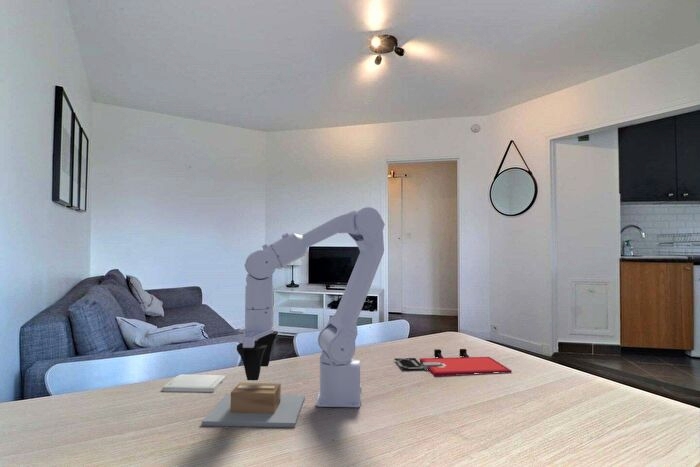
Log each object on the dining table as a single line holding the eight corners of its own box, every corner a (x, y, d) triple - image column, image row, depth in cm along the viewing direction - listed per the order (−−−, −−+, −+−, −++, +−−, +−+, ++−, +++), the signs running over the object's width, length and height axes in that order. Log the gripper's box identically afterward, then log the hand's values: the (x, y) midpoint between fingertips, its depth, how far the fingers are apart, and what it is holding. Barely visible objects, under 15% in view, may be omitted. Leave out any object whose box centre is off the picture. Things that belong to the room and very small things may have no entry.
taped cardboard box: (239, 401, 74) (239, 381, 74) (280, 402, 73) (280, 382, 73) (230, 412, 69) (230, 391, 69) (274, 413, 68) (274, 392, 68)
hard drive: (162, 386, 80) (214, 387, 80) (180, 373, 89) (227, 374, 88) (162, 393, 80) (213, 394, 80) (180, 380, 89) (227, 380, 88)
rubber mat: (304, 399, 77) (304, 395, 77) (295, 427, 65) (295, 422, 65) (225, 397, 77) (225, 394, 77) (201, 425, 65) (201, 421, 65)
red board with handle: (392, 359, 105) (407, 379, 90) (392, 350, 105) (407, 368, 90) (482, 357, 109) (511, 375, 94) (483, 348, 109) (511, 365, 94)
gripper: (251, 301, 79) (250, 360, 79) (227, 314, 65) (226, 386, 64) (281, 301, 79) (280, 360, 78) (264, 314, 64) (263, 386, 64)
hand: (258, 372), depth 71 cm, fingers open, 7 cm apart
